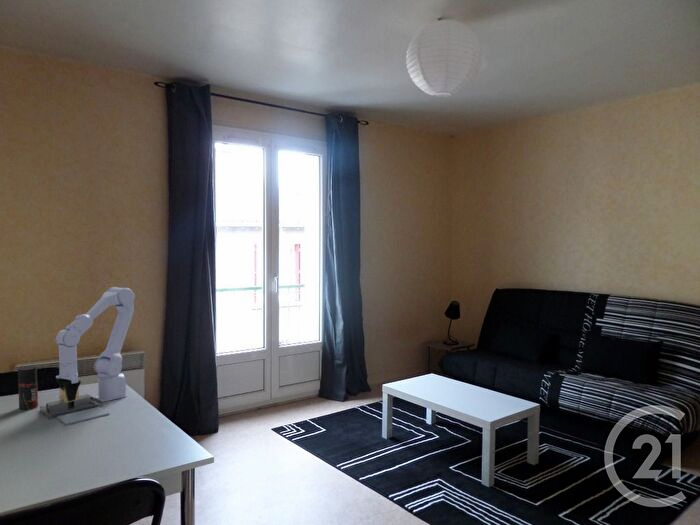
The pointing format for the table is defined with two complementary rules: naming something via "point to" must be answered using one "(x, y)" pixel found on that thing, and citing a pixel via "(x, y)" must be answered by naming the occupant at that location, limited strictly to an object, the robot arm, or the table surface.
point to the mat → (82, 415)
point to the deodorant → (27, 387)
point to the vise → (68, 406)
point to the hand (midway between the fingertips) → (69, 398)
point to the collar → (64, 395)
